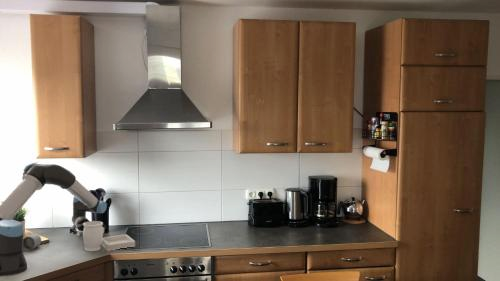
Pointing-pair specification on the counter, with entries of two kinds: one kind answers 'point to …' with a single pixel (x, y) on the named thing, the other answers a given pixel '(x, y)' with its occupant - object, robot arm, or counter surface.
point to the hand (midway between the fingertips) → (91, 232)
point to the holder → (117, 242)
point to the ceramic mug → (31, 242)
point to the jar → (92, 235)
